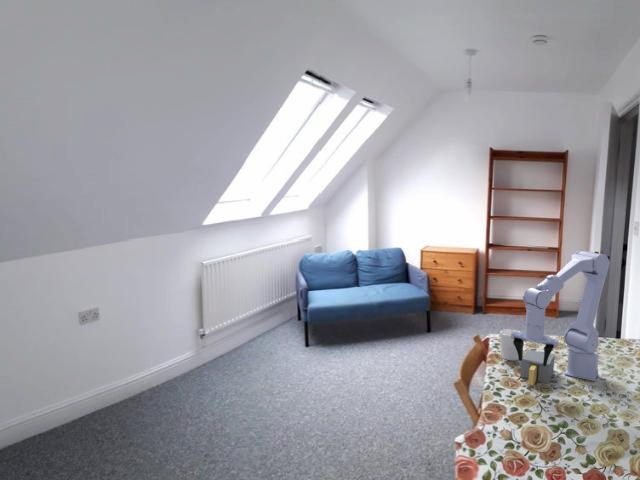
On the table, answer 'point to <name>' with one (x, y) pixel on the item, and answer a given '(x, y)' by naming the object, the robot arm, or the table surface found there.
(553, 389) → the table surface
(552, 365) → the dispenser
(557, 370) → the table surface
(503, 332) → the white cup
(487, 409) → the table surface
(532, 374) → the yellow rectangular block
